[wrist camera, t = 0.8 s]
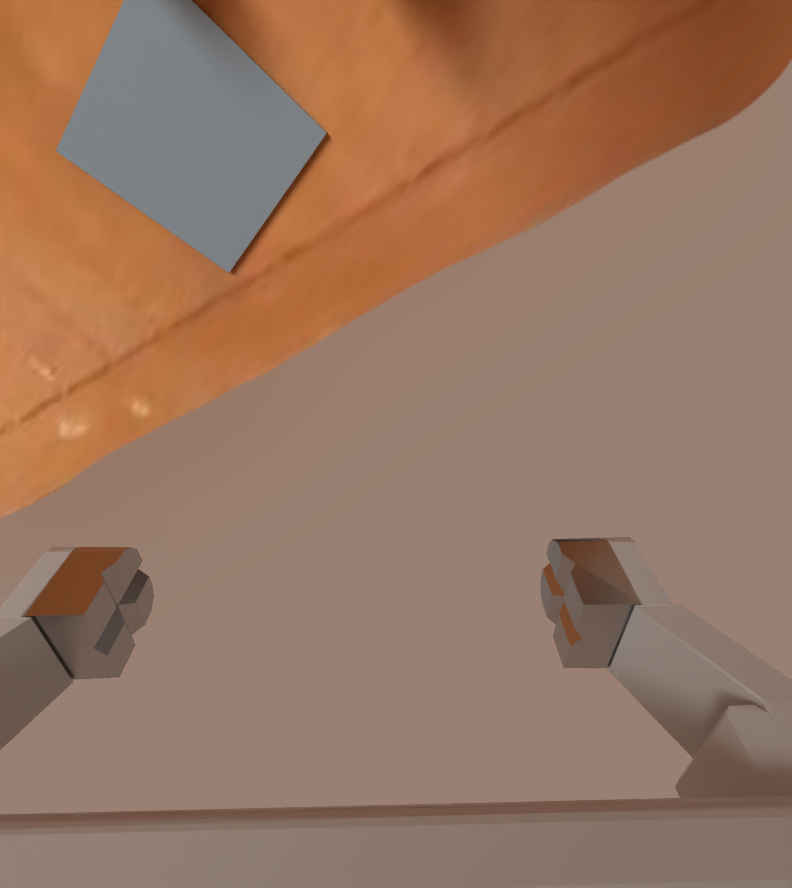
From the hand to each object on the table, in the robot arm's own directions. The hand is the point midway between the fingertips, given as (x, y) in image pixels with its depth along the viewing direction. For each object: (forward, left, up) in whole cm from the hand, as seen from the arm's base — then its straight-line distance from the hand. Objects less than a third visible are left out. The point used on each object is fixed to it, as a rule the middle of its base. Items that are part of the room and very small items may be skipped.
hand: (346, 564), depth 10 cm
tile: (-8, -6, -45) cm, 46 cm away
